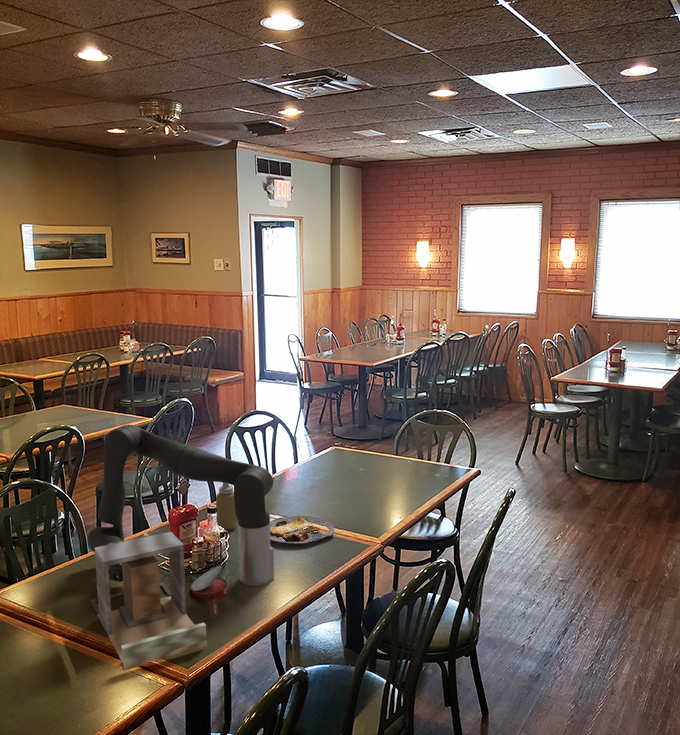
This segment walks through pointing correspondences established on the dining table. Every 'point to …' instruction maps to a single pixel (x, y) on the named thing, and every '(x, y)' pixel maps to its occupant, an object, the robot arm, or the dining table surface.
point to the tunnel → (177, 627)
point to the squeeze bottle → (226, 507)
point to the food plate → (296, 529)
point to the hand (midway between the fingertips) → (135, 581)
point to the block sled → (141, 592)
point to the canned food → (210, 585)
